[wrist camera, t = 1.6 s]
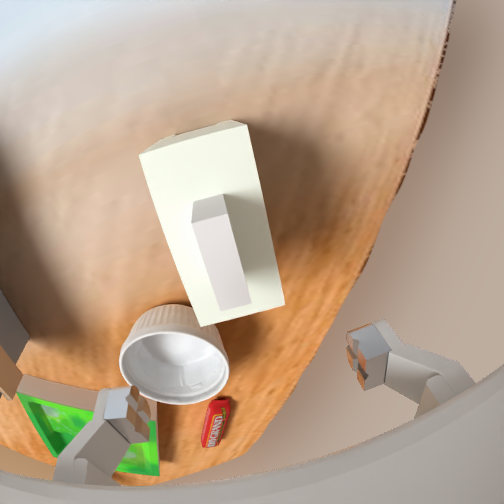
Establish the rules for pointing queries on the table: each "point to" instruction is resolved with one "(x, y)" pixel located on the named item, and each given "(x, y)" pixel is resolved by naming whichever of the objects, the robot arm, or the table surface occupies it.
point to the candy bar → (215, 422)
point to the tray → (80, 421)
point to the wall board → (10, 348)
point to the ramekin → (174, 356)
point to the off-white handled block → (215, 220)
